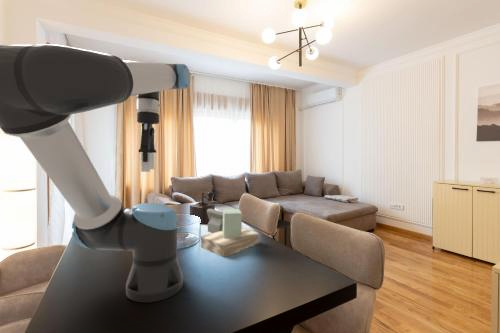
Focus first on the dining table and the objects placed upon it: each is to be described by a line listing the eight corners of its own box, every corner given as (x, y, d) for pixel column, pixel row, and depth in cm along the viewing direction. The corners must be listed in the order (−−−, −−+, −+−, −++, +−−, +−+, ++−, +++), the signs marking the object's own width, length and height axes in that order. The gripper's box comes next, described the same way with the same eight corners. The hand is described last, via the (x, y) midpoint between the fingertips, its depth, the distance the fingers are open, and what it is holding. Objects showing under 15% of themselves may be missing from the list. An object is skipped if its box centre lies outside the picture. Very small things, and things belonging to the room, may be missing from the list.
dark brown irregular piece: (188, 222, 139) (188, 190, 138) (200, 218, 149) (201, 188, 148) (210, 226, 132) (211, 192, 131) (222, 221, 142) (222, 190, 141)
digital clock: (235, 234, 119) (236, 212, 119) (218, 238, 114) (219, 214, 114) (219, 226, 133) (219, 206, 132) (203, 229, 127) (203, 208, 127)
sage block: (241, 237, 102) (241, 213, 101) (224, 238, 100) (224, 213, 100) (238, 232, 109) (239, 209, 108) (222, 232, 107) (223, 209, 107)
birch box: (259, 244, 108) (259, 233, 107) (223, 258, 93) (223, 245, 92) (236, 236, 117) (236, 226, 117) (200, 248, 102) (200, 236, 102)
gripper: (155, 107, 80) (155, 172, 81) (161, 117, 104) (161, 168, 105) (130, 105, 78) (130, 172, 79) (142, 116, 102) (142, 168, 103)
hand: (148, 170), depth 92 cm, fingers open, 13 cm apart
